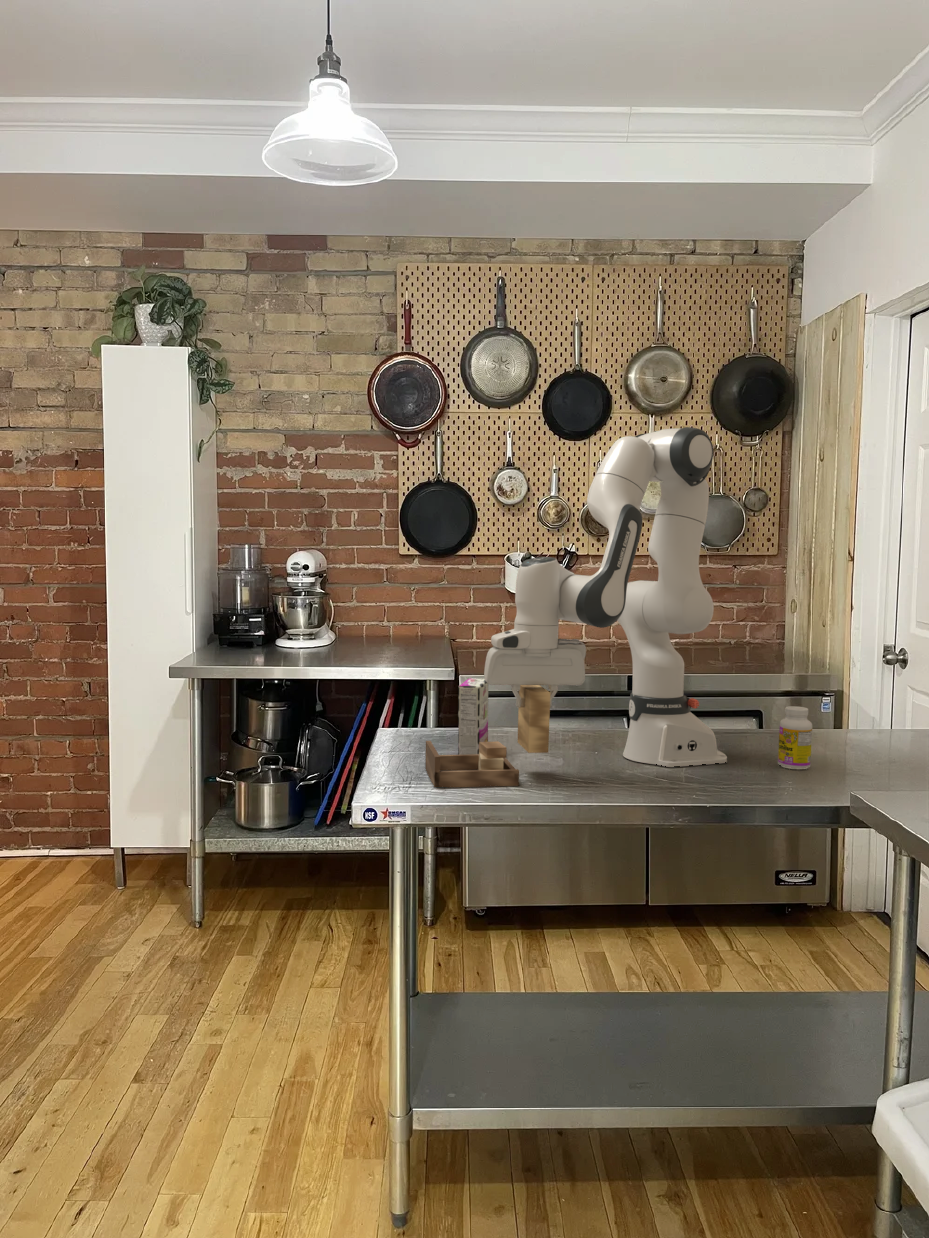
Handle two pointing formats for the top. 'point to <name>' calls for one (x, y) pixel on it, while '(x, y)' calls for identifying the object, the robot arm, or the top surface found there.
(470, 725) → the candy bar box
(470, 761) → the rack
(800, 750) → the supplement bottle
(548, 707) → the light brown wooden block
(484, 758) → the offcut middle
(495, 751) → the offcut top
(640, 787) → the top surface
